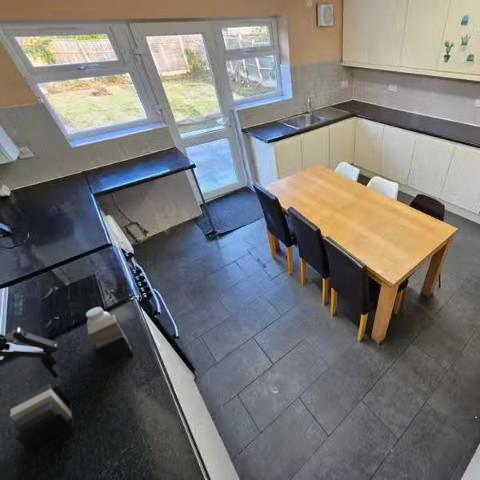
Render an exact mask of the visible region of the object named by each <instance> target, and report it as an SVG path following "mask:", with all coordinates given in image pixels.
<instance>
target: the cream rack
mask: <svg viewBox="0 0 480 480" xmlns="http://www.w3.org/2000/svg"><path fill="white" fill-rule="evenodd" d="M86 329H87V330H86V331H87V334H88V336H89V338H90V340H91V341H92V342H93V344H94V345H95V347H96V348H94V349H93V352H94V353H95V355H96V356H97V358H98V359H99V361H100V362H101V363H102V365H103V367H104V368H106V367H108V366H110V365H112V364H114V363H116V362H118V361H120V360H121V359H124V358H125V357H129V358H130V357H132V356H133V355H134V352H133V349H132V347H131V343H130V340H129V339H128V336H127V334H126V332H125V330H124V328H123V327H122V325H121V323H120V321H119V319H118V318H116V316H115V315H114V314H112V315H111V314H110V316H109V317H107V318H105V319H102V320H100V321H98V322H95V323H93V324H91V325H89V326H88V325H87V326H86Z"/></svg>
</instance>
